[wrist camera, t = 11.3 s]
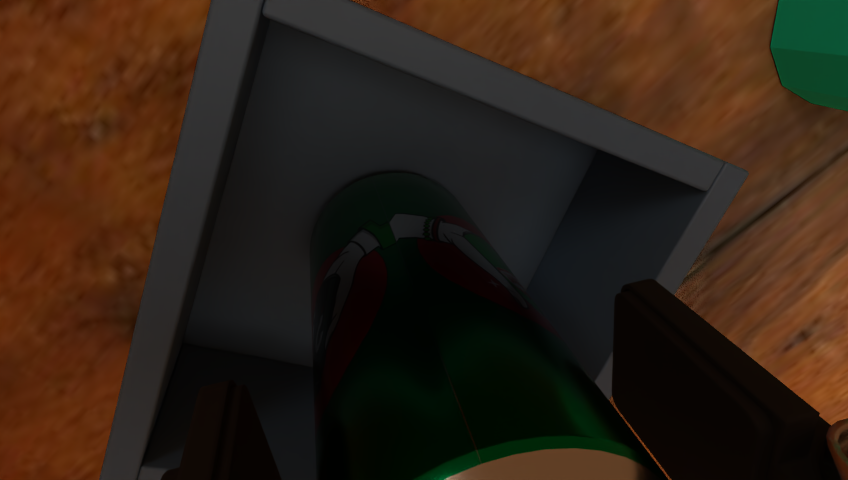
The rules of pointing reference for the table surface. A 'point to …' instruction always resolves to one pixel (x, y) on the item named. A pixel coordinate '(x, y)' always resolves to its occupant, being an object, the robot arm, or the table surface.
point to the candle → (813, 50)
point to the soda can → (444, 354)
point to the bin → (363, 157)
